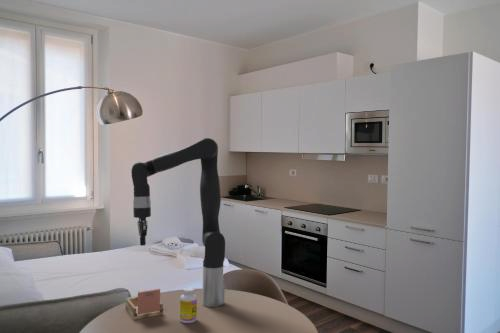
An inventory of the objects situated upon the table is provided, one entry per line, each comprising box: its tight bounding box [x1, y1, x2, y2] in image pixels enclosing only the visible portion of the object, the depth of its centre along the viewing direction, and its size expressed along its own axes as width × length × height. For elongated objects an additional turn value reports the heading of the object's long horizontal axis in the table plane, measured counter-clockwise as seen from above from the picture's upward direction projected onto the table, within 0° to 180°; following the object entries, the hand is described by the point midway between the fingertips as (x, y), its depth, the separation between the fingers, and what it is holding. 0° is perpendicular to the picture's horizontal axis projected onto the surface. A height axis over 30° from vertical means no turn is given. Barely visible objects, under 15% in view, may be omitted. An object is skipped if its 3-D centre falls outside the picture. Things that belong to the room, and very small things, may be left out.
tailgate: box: [137, 288, 161, 315], centre depth 163 cm, size 9×1×9 cm, turn 121°
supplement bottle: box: [179, 286, 198, 324], centre depth 161 cm, size 7×7×13 cm
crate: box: [125, 296, 164, 321], centre depth 169 cm, size 12×15×4 cm
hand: (142, 245), depth 178 cm, fingers closed
